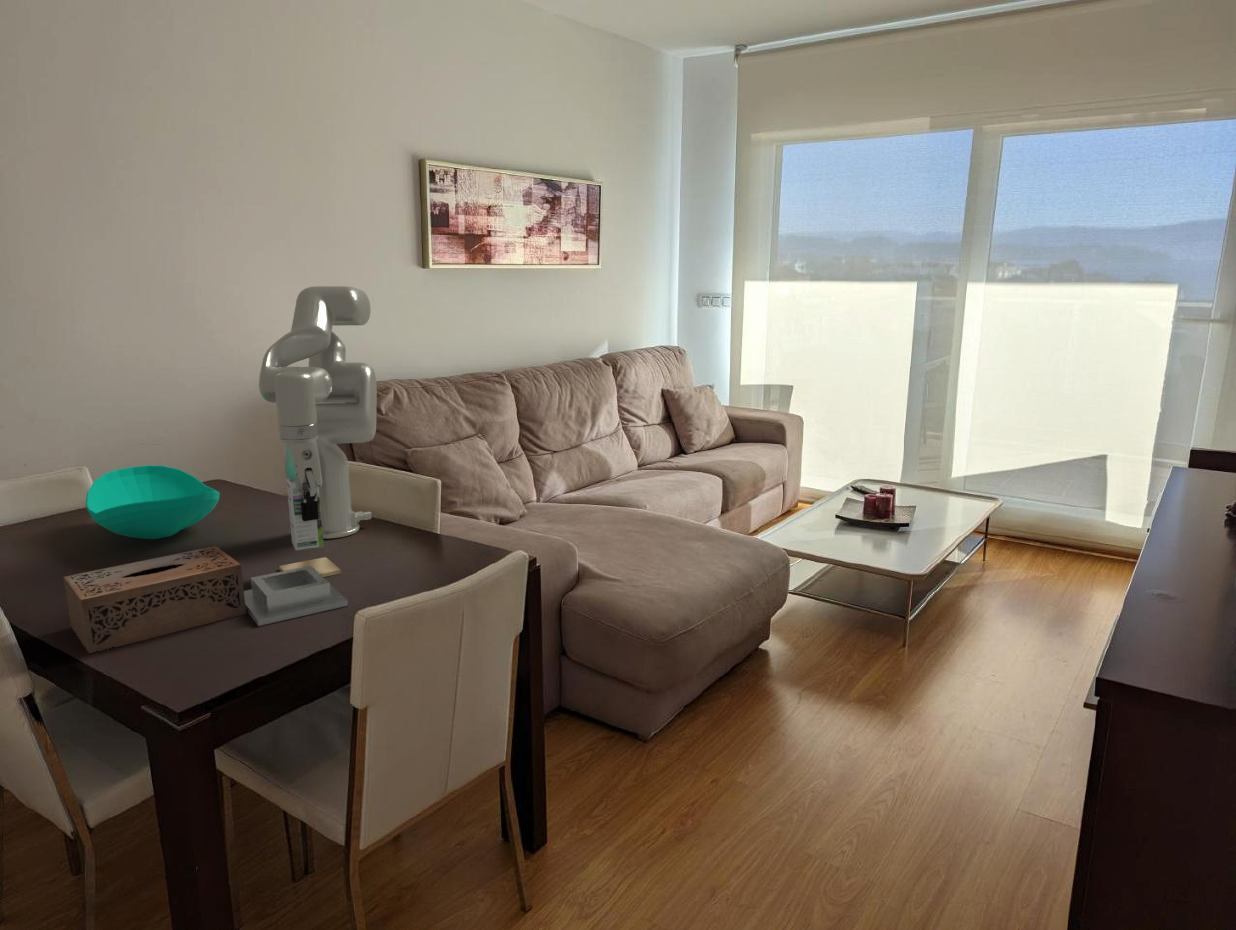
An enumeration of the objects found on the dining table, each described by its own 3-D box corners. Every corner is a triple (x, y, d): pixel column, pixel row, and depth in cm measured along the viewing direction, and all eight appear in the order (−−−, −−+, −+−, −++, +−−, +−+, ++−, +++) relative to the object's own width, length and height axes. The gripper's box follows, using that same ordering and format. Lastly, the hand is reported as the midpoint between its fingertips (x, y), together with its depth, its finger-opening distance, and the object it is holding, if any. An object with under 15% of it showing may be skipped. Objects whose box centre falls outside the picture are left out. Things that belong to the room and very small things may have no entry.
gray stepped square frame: (321, 580, 177) (319, 560, 176) (347, 605, 165) (346, 583, 163) (237, 598, 168) (234, 576, 167) (258, 626, 155) (256, 603, 154)
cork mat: (326, 560, 189) (325, 557, 189) (341, 573, 182) (340, 569, 181) (279, 569, 184) (279, 566, 184) (292, 583, 176) (292, 579, 176)
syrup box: (295, 551, 177) (289, 483, 174) (291, 543, 182) (285, 477, 179) (323, 547, 180) (318, 480, 177) (319, 539, 185) (314, 474, 182)
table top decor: (245, 542, 201) (239, 488, 198) (112, 569, 184) (104, 509, 180) (195, 506, 230) (190, 458, 227) (76, 526, 213) (68, 475, 210)
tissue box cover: (220, 593, 171) (215, 545, 169) (246, 614, 161) (241, 564, 158) (71, 628, 154) (63, 576, 152) (89, 655, 144) (81, 600, 142)
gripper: (330, 436, 171) (336, 522, 175) (304, 424, 185) (310, 504, 189) (291, 440, 167) (299, 529, 171) (268, 427, 180) (275, 509, 184)
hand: (305, 515), depth 180 cm, fingers closed on syrup box, 6 cm apart
